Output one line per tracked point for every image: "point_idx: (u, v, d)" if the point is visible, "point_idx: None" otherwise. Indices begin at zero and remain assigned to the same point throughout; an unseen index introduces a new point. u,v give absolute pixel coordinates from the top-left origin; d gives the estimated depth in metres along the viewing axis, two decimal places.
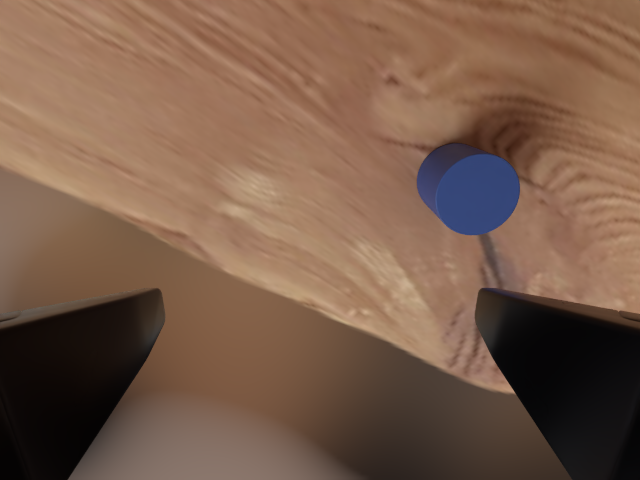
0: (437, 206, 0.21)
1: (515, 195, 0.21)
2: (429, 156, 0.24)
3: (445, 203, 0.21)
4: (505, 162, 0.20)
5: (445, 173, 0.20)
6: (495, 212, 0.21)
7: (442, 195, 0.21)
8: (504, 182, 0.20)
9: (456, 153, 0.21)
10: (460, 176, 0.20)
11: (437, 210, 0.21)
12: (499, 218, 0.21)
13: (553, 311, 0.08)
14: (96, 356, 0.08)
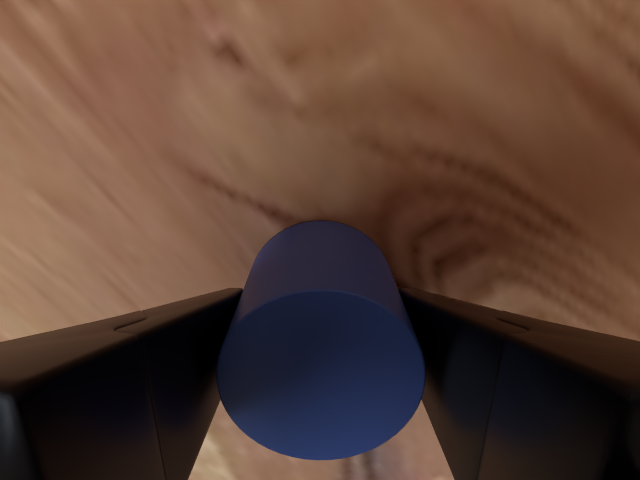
0: (219, 381, 0.08)
1: (410, 403, 0.08)
2: (279, 235, 0.11)
3: (239, 380, 0.08)
4: (403, 327, 0.08)
5: (248, 315, 0.08)
6: (355, 427, 0.09)
7: (234, 361, 0.08)
8: (390, 370, 0.08)
9: (307, 261, 0.09)
10: (286, 332, 0.08)
11: (219, 389, 0.08)
12: (362, 439, 0.09)
13: (439, 311, 0.08)
14: (207, 356, 0.08)
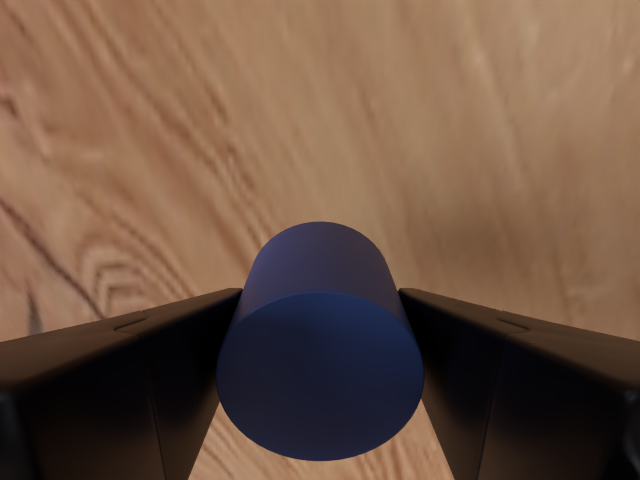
0: (218, 382, 0.08)
1: (408, 404, 0.08)
2: (279, 236, 0.11)
3: (238, 381, 0.08)
4: (401, 329, 0.08)
5: (248, 316, 0.08)
6: (355, 428, 0.09)
7: (233, 362, 0.08)
8: (389, 371, 0.08)
9: (306, 262, 0.09)
10: (285, 333, 0.08)
11: (218, 390, 0.08)
12: (361, 440, 0.09)
13: (439, 311, 0.08)
14: (207, 356, 0.08)
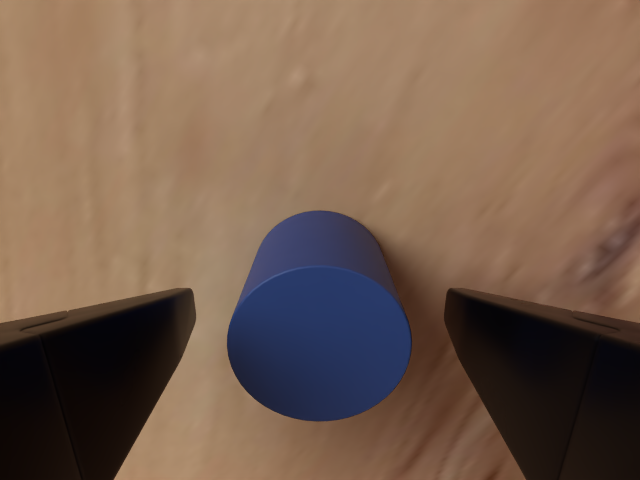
0: (229, 349, 0.09)
1: (398, 368, 0.10)
2: (282, 224, 0.12)
3: (248, 347, 0.09)
4: (391, 300, 0.09)
5: (256, 289, 0.09)
6: (350, 390, 0.10)
7: (243, 330, 0.09)
8: (380, 338, 0.09)
9: (307, 243, 0.10)
10: (289, 303, 0.09)
11: (229, 356, 0.09)
12: (356, 402, 0.10)
13: (509, 311, 0.08)
14: (139, 356, 0.08)
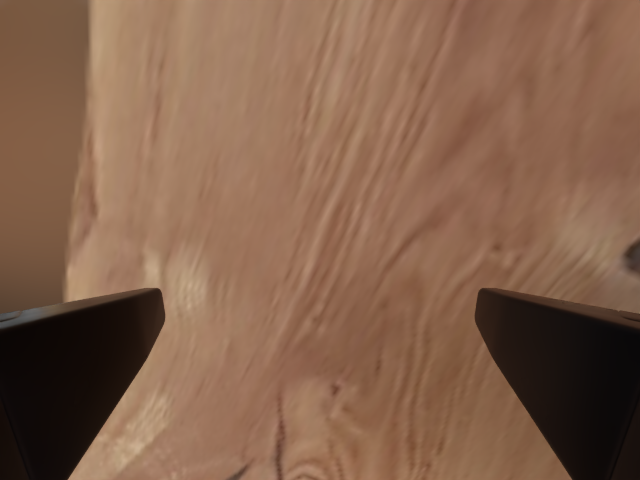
0: None
1: None
2: None
3: None
4: None
5: None
6: None
7: None
8: None
9: None
10: None
11: None
12: None
13: (553, 311, 0.08)
14: (96, 356, 0.08)
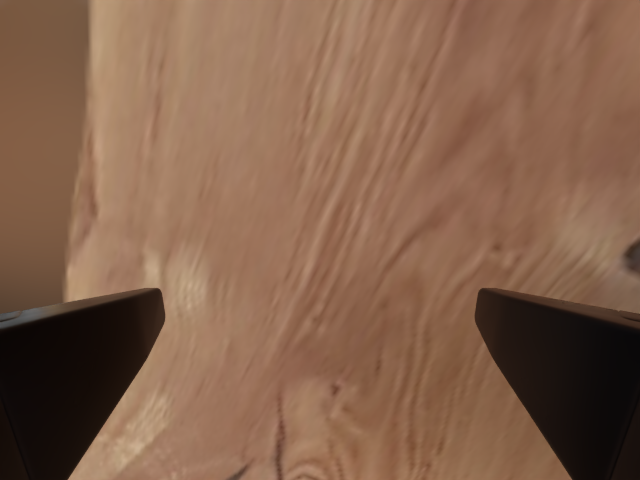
0: None
1: None
2: None
3: None
4: None
5: None
6: None
7: None
8: None
9: None
10: None
11: None
12: None
13: (553, 311, 0.08)
14: (96, 356, 0.08)
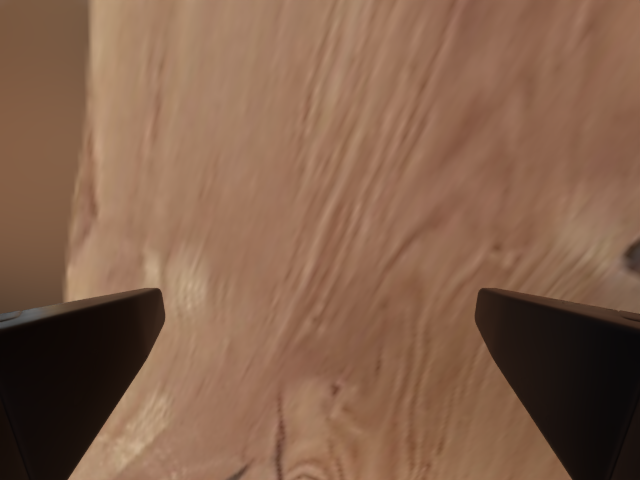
0: None
1: None
2: None
3: None
4: None
5: None
6: None
7: None
8: None
9: None
10: None
11: None
12: None
13: (553, 311, 0.08)
14: (96, 356, 0.08)
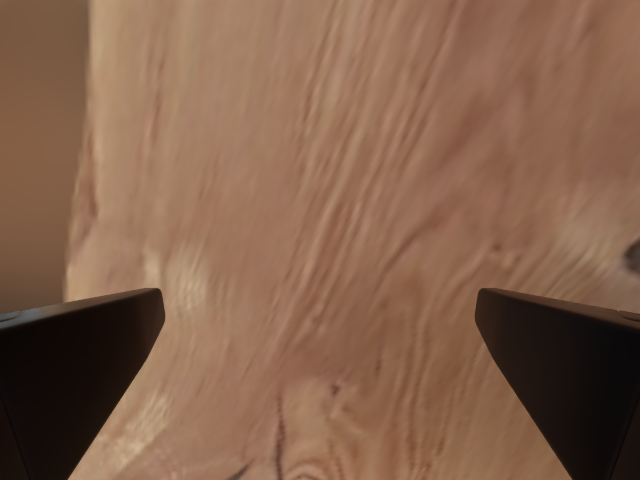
0: None
1: None
2: None
3: None
4: None
5: None
6: None
7: None
8: None
9: None
10: None
11: None
12: None
13: (553, 311, 0.08)
14: (96, 356, 0.08)
